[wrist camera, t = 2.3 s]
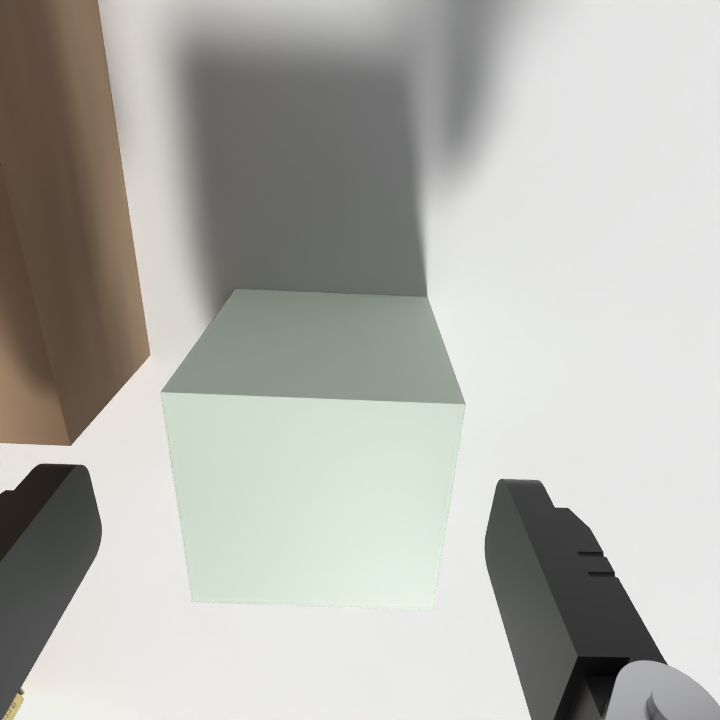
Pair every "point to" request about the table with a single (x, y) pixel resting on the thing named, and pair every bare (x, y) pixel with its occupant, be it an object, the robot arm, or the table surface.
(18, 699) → the candy box
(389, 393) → the sage cube
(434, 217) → the table surface
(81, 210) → the walnut block
